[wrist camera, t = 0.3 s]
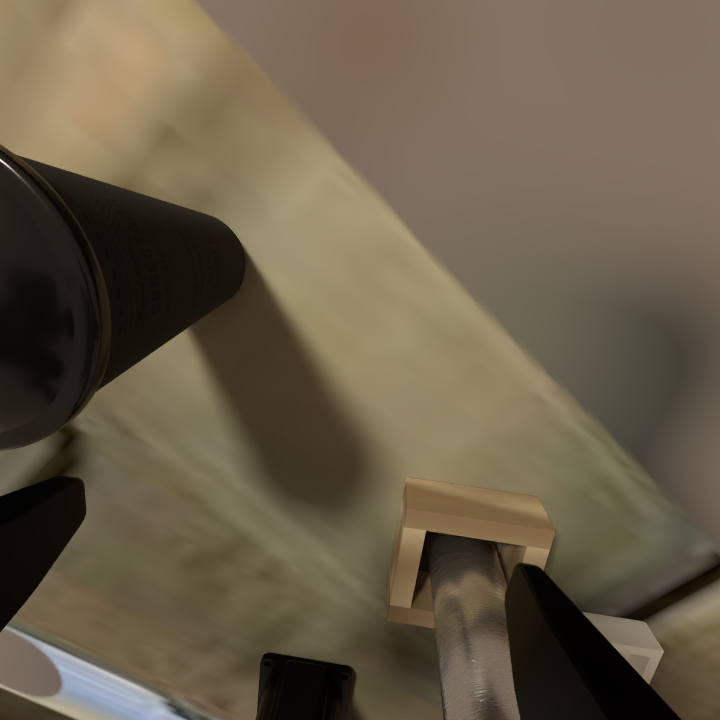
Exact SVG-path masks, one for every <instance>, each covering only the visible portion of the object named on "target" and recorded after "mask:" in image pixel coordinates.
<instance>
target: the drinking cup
mask: <svg viewBox="0 0 720 720" xmlns="http://www.w3.org/2000/svg"><path fill="white" fill-rule="evenodd" d="M244 272H245V258H244V253H243V249H242V247H241V244H240V242H239V240H238V238H237V237H236V235H235V234H234V233H233V231H232V230H231V229H230V228H229V227H228V226H227V225H226V224H224V223H223V222H222V221H220V220H218V219H217V218H215V217H213V216H210V215H207V214H204V213H201V212H197V211H194V210H191V209H188V208H185V207H181V206H178V205H175V204H172V203H169V202H165V201H162V200H159V199H156V198H153V197H149V196H146V195H143V194H140V193H136V192H133V191H130V190H127V189H124V188H120V187H117V186H114V185H111V184H108V183H104V182H101V181H98V180H95V179H92V178H88V177H85V176H82V175H79V174H76V173H72V172H69V171H66V170H63V169H60V168H56V167H53V166H50V165H47V164H44V163H40V162H37V161H34V160H31V159H28V158H24V157H21V156H18V155H15V154H14V153H12V152H11V151H9V150H8V149H6V148H5V147H4V146H2V145H1V144H0V451H2V450H9V449H16V448H19V447H24V446H27V445H30V444H32V443H35V442H38V441H40V440H42V439H44V438H46V437H48V436H50V435H52V434H53V433H55V432H57V431H58V430H60V429H61V428H63V427H64V426H66V425H67V424H68V423H70V422H71V421H72V420H73V419H74V418H75V417H77V416H78V415H79V414H80V413H81V411H82V410H83V409H84V408H85V407H86V406H87V404H88V403H89V401H90V400H91V399H92V397H93V396H94V394H95V392H96V391H98V390H99V389H101V388H102V387H103V386H105V385H106V384H108V383H109V382H111V381H112V380H114V379H115V378H116V377H118V376H119V375H121V374H122V373H124V372H125V371H126V370H128V369H129V368H131V367H132V366H134V365H135V364H136V363H138V362H139V361H141V360H142V359H144V358H145V357H146V356H148V355H149V354H151V353H152V352H154V351H155V350H157V349H158V348H159V347H161V346H162V345H164V344H165V343H167V342H168V341H169V340H171V339H172V338H174V337H175V336H177V335H178V334H179V333H181V332H182V331H184V330H185V329H187V328H188V327H189V326H191V325H192V324H194V323H195V322H197V321H198V320H200V319H201V318H202V317H204V316H205V315H207V314H208V313H210V312H211V311H212V310H214V309H215V308H217V307H218V306H220V305H221V304H222V303H224V302H225V301H227V300H228V299H229V298H231V297H232V296H233V295H234V294H235V293H236V291H237V290H238V289H239V287H240V285H241V283H242V280H243V277H244Z"/></svg>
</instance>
